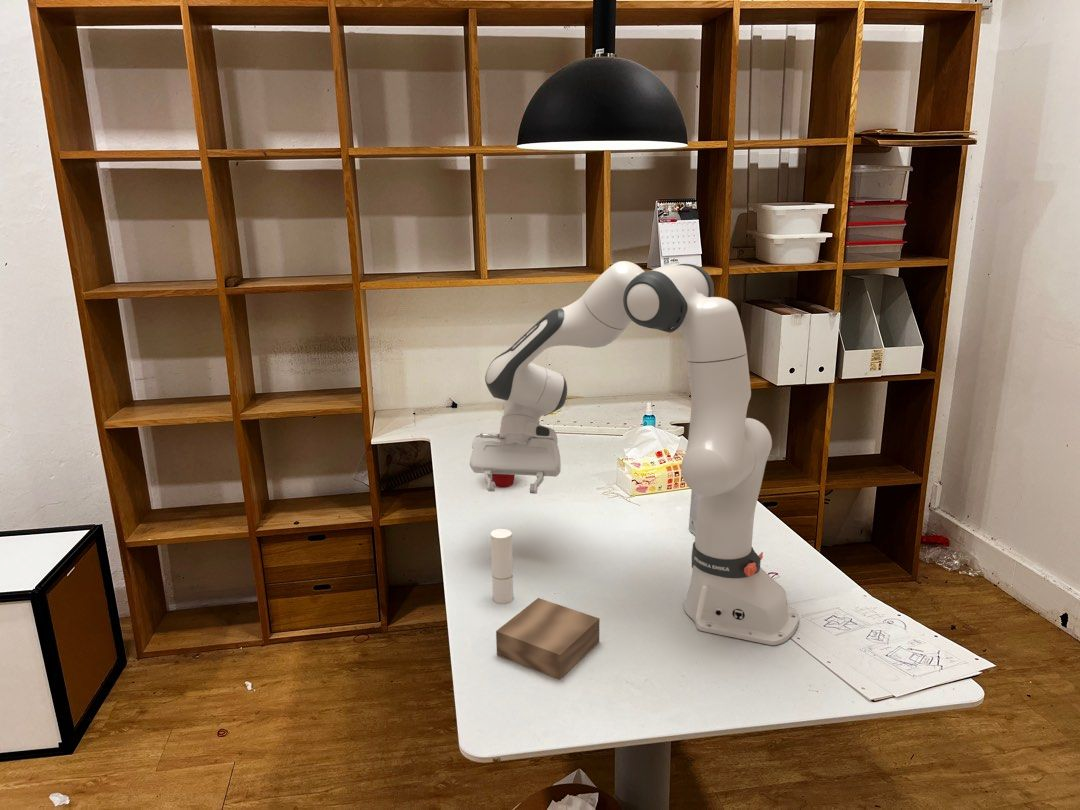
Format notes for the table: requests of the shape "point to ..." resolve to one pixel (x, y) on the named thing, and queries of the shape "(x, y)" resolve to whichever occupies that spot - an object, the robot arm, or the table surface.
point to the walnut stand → (548, 637)
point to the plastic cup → (503, 480)
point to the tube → (502, 565)
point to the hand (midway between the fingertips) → (511, 491)
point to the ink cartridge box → (693, 511)
